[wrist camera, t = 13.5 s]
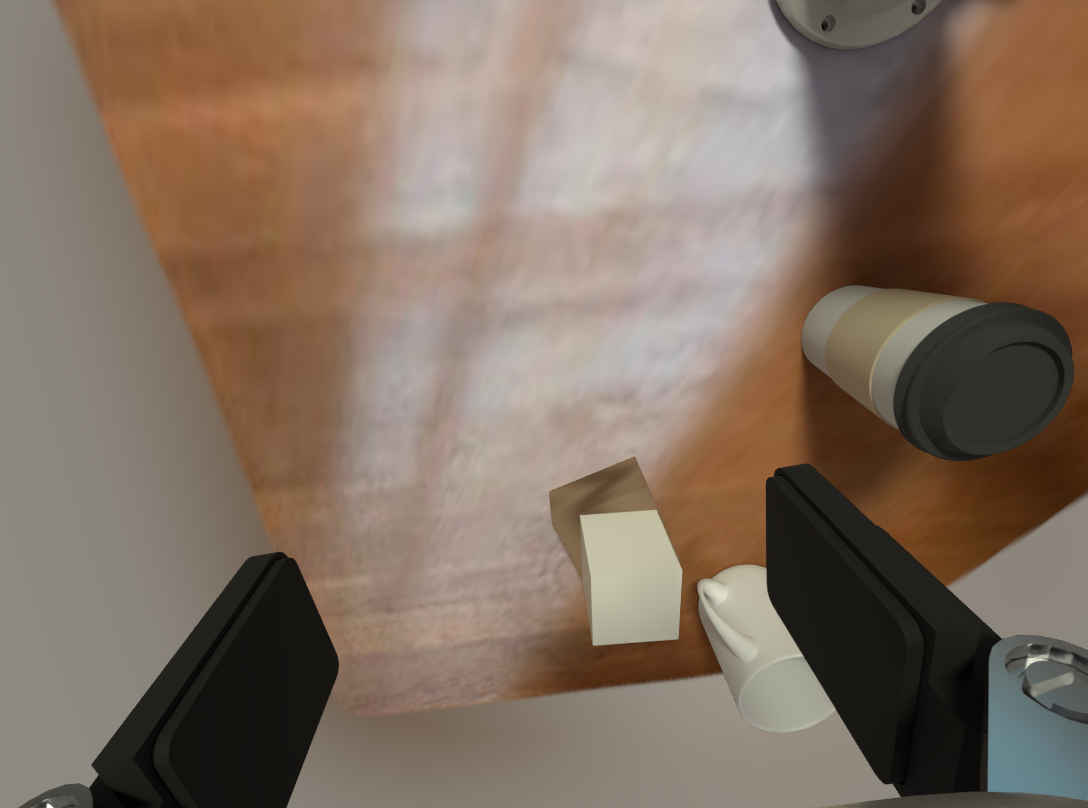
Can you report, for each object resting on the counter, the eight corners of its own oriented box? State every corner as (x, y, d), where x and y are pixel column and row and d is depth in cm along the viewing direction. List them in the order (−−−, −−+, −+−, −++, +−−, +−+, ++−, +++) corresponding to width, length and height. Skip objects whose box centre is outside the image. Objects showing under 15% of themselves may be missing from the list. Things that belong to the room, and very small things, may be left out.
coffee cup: (927, 308, 40) (1144, 368, 26) (847, 402, 43) (1005, 502, 29) (841, 247, 38) (1026, 277, 24) (763, 350, 41) (889, 431, 27)
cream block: (656, 509, 40) (682, 570, 34) (654, 571, 42) (678, 639, 36) (579, 515, 40) (591, 577, 34) (582, 576, 42) (592, 645, 36)
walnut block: (634, 455, 44) (647, 485, 39) (664, 525, 47) (680, 561, 42) (548, 490, 45) (552, 524, 40) (584, 557, 48) (590, 596, 43)
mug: (717, 526, 47) (770, 615, 37) (801, 590, 50) (870, 688, 40) (652, 585, 49) (685, 684, 39) (736, 643, 52) (786, 748, 42)
